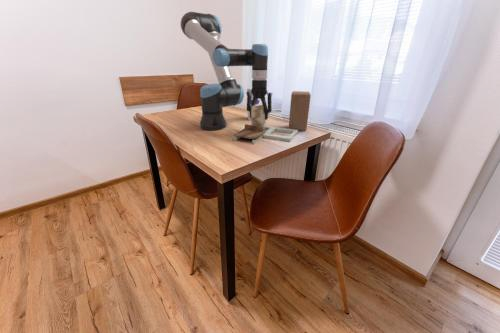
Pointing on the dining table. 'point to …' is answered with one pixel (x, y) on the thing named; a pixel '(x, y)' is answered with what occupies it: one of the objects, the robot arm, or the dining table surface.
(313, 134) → the dining table surface
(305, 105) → the wooden block
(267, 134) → the puzzle board
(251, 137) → the walnut lid
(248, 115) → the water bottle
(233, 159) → the dining table surface
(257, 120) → the beech block
